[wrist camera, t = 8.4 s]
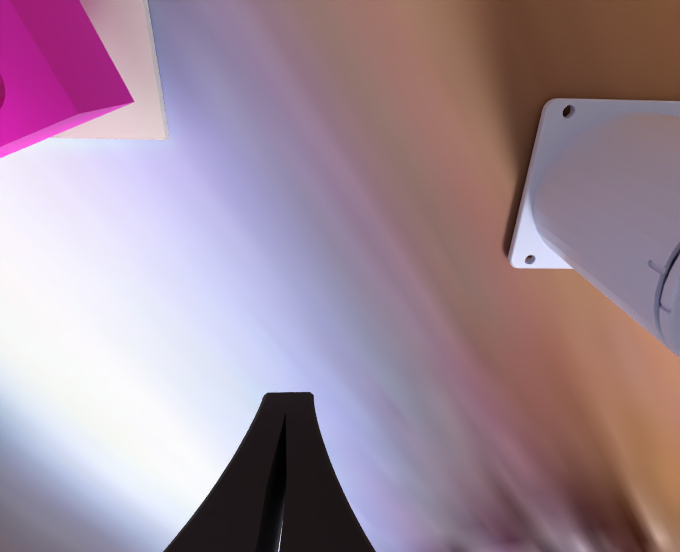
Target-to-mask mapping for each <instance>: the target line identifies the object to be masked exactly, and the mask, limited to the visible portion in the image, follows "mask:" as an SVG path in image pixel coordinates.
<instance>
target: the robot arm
mask: <svg viewBox="0 0 680 552" xmlns="http://www.w3.org/2000/svg"><path fill="white" fill-rule="evenodd" d="M568 105H569V106H570V112H569V114H568V115H567V116H566V117H564V116H563V110H564V108H565V107H566V106H568ZM529 255H532V257H531V259H530V260H528V261H525V259H526V257H527V256H529ZM508 261H509V263H510V264H511V265H512V266H513V267H515V268H569V269H574V270H576V271H577V272H578V273H579V274H580V275H581V276H583V277H584V278H585V279H586V280H587V281H589V282H590V283H591V284H592V285H593V286H595V287H596V288H597V289H598V290H599V291H600V292H602V293H603V294H604V295H605V296H606V297H608V298H609V299H610V300H611V301H612V302H613V303H615V304H616V305H617V306H618V307H619V308H621V309H622V310H623V311H624V312H625V313H627V314H628V315H629V316H630V317H631V318H632V319H634V320H635V321H636V322H637V323H638V324H640V325H641V326H642V327H643V328H644V329H646V330H647V331H648V332H649V333H650V334H651V335H653V336H654V337H655V338H656V339H657V340H659V341H660V342H661V343H662V344H663V345H665V346H666V347H667V348H668V349H669V350H670V351H672V352H673V353H674V354H676V355H677V356H678V357H679V358H680V101H658V100H615V99H573V98H554V99H551V100H549V101H548V102H547V103H546V104H545V105H544V107H543V110H542V113H541V118H540V122H539V126H538V130H537V135H536V139H535V143H534V148H533V152H532V156H531V160H530V165H529V169H528V173H527V178H526V182H525V186H524V190H523V195H522V199H521V203H520V208H519V212H518V216H517V220H516V225H515V229H514V233H513V238H512V242H511V246H510V250H509V255H508ZM282 521H283V524H282ZM281 528H282V533H281ZM280 535H281V542H280V550H279V552H376V551H375V550H374V548H373V546H372V545H371V543H370V541H369V540H368V538H367V536H366V535H365V533H364V531H363V529H362V527H361V526H360V524H359V522H358V520H357V518H356V516H355V514H354V512H353V511H352V509H351V507H350V505H349V503H348V501H347V499H346V496H345V494H344V492H343V490H342V488H341V486H340V483H339V481H338V479H337V476H336V474H335V472H334V469H333V467H332V464H331V462H330V459H329V456H328V453H327V451H326V448H325V445H324V442H323V439H322V436H321V433H320V429H319V425H318V421H317V417H316V413H315V407H314V395H313V394H312V393H310V392H281V393H267V394H265V395H264V397H263V399H262V402H261V404H260V407H259V409H258V411H257V413H256V416H255V418H254V420H253V422H252V424H251V426H250V428H249V430H248V431H247V433H246V435H245V437H244V439H243V440H242V442H241V444H240V446H239V447H238V449H237V451H236V453H235V454H234V456H233V458H232V459H231V461H230V462H229V464H228V466H227V467H226V469H225V470H224V472H223V473H222V475H221V477H220V478H219V480H218V481H217V483H216V484H215V486H214V487H213V489H212V490H211V491H210V493H209V494H208V496H207V497H206V498H205V500H204V501H203V503H202V504H201V505H200V507H199V508H198V509H197V511H196V512H195V513H194V515H193V516H192V517H191V518H190V520H189V521H188V522H187V523H186V525H185V526H184V527H183V528H182V530H181V531H180V532H179V533H178V535H177V536H176V537H175V538H174V539H173V541H172V542H171V543H170V544H169V545H168V547H167V548H166V549H165V550H164V551H163V552H278V548H279V541H280Z"/></svg>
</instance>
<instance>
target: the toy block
mask: <svg viewBox="0 0 680 552" xmlns="http://www.w3.org/2000/svg"><path fill="white" fill-rule="evenodd" d="M133 102H135V101H134V100H133V98H132V96H131V94H130V92H129V90H128V89H127V87H126V85H125V83H124V81H123V79H122V78H121V76H120V74H119V72H118V70H117V68H116V67H115V65H114V63H113V61H112V59H111V57H110V56H109V54H108V52H107V50H106V48H105V46H104V45H103V43H102V41H101V39H100V37H99V35H98V34H97V32H96V30H95V28H94V26H93V24H92V23H91V21H90V19H89V17H88V15H87V14H86V12H85V10H84V8H83V6H82V4H81V3H80V1H79V0H0V158H2V157H4V156H6V155H9V154H11V153H14V152H16V151H18V150H21V149H23V148H25V147H28V146H30V145H33V144H35V143H37V142H40V141H42V140H45V139H47V138H49V137H52V136H54V135H57V134H59V133H61V132H64V131H66V130H69V129H71V128H73V127H76V126H78V125H81V124H83V123H85V122H88V121H90V120H93V119H95V118H97V117H100V116H102V115H105V114H107V113H109V112H112V111H114V110H117V109H119V108H121V107H124V106H126V105H129V104H131V103H133Z"/></svg>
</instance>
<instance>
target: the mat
mask: <svg viewBox="0 0 680 552" xmlns="http://www.w3.org/2000/svg"><path fill="white" fill-rule="evenodd" d="M79 1H80V3H81V4H82V6H83V8H84V10H85V12H86V14H87V15H88V17H89V19H90V21H91V23H92V24H93V26H94V28H95V30H96V32H97V34H98V35H99V37H100V39H101V41H102V43H103V45H104V46H105V48H106V50H107V52H108V54H109V56H110V57H111V59H112V61H113V63H114V65H115V67H116V68H117V70H118V72H119V74H120V76H121V78H122V79H123V81H124V83H125V85H126V87H127V89H128V90H129V92H130V94H131V96H132V98H133V100H134V101H135V102H133V103H131V104H129V105H126V106H124V107H121V108H119V109H117V110H114V111H112V112H109V113H107V114H105V115H102V116H100V117H97V118H95V119H93V120H90V121H88V122H85V123H83V124H81V125H78V126H76V127H73V128H71V129H69V130H66V131H64V132H61V133H59V134H57V135H54V136H52V137H49V138H96V139H148V140H167V139H169V138H170V137H169V130H168V124H167V118H166V112H165V106H164V99H163V93H162V87H161V81H160V75H159V68H158V62H157V56H156V50H155V44H154V37H153V31H152V25H151V19H150V13H149V6H148V0H79Z"/></svg>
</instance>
